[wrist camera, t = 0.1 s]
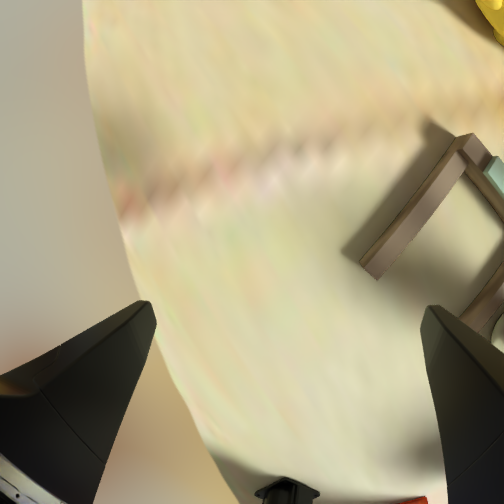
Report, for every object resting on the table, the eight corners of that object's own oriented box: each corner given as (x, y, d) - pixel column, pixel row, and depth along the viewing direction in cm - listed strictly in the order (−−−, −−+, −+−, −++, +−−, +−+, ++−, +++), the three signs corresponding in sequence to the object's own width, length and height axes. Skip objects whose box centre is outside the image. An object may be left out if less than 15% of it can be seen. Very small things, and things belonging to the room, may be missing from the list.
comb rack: (492, 392, 24) (505, 411, 20) (359, 261, 24) (368, 275, 20) (564, 302, 20) (582, 314, 17) (456, 136, 20) (478, 131, 16)
